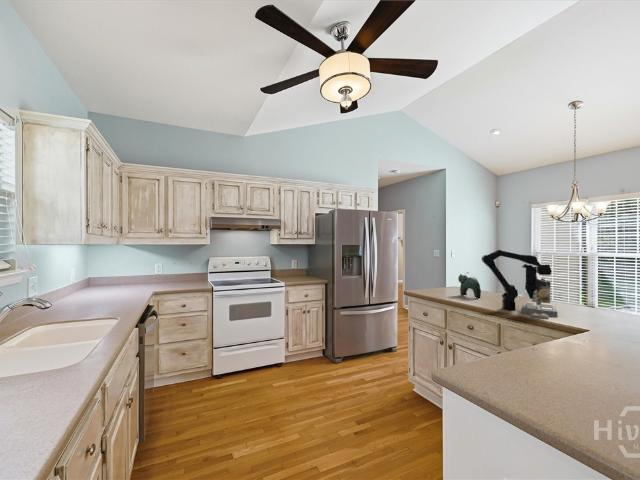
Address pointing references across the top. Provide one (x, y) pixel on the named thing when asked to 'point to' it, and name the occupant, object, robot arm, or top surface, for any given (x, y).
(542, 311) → the control panel
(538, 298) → the coffee box
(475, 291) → the ceramic cat
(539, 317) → the pattern card
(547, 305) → the button back right
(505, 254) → the robot arm
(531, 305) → the button front left
